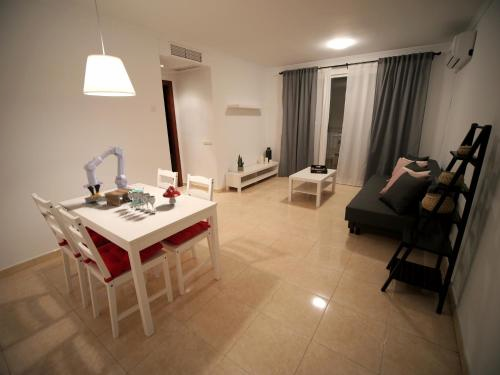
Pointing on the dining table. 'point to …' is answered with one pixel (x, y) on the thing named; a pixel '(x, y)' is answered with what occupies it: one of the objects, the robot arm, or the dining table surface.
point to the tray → (94, 197)
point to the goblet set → (141, 196)
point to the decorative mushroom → (171, 194)
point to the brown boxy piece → (117, 196)
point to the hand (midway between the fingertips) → (95, 194)
